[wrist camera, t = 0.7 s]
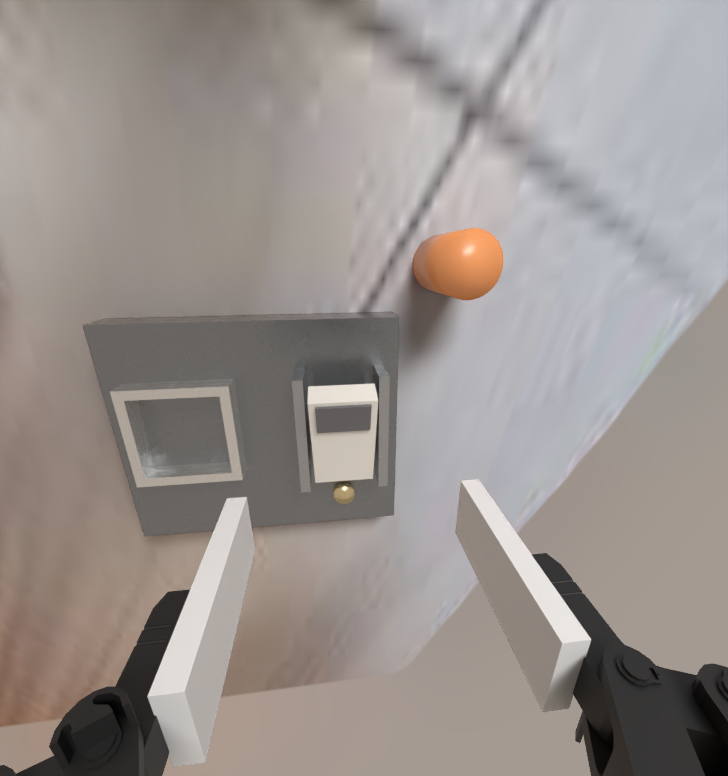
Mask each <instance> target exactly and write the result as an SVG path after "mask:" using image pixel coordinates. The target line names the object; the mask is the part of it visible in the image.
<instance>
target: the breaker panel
mask: <svg viewBox="0 0 728 776" xmlns="http://www.w3.org/2000/svg"><path fill="white" fill-rule="evenodd" d="M83 329H84V332H85V335H86V339H87V342H88V346H89V349H90V353H91V356H92V359H93V363H94V366H95V370H96V373H97V376H98V380H99V383H100V387H101V390H102V393H103V397H104V400H105V404H106V407H107V411H108V414H109V417H110V421H111V424H112V428H113V431H114V434H115V438H116V441H117V445H118V448H119V452H120V455H121V458H122V462H123V465H124V469H125V472H126V475H127V479H128V482H129V486H130V489H131V492H132V496H133V499H134V503H135V506H136V510H137V513H138V516H139V520H140V523H141V527H142V530H143V533H144V536H153V535H165V534H177V533H189V532H201V531H213V530H214V529H215V527H216V524H217V522H218V519H219V517H220V514H221V512H222V509H223V507H224V504H225V502H226V499H227V498H238V497H247V501H248V507H249V514H250V520H251V527H260V526H272V525H284V524H296V523H308V522H319V521H331V520H343V519H355V518H367V517H379V516H391V515H394V489H395V453H396V417H397V381H398V345H399V316H397V315H396V314H395V313H393V312H365V313H324V314H282V315H241V316H199V317H158V318H116V319H103V320H100V321H96V322H92V323H89V324H85V325H83ZM353 384H375V388H376V392H377V397H378V412H377V426H376V441H375V455H374V470H373V479H362V480H348V481H334V482H321V483H315V474H314V464H313V454H312V443H311V433H310V423H309V413H308V386H331V385H353Z"/></svg>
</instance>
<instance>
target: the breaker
mask: <svg viewBox="0 0 728 776" xmlns="http://www.w3.org/2000/svg"><path fill="white" fill-rule="evenodd" d="M377 412H378V397H377V392H376V388H375V384H353V385H331V386H308V413H309V423H310V433H311V443H312V454H313V464H314V474H315V483H321V482H334V481H348V480H362V479H373V470H374V455H375V441H376V426H377Z"/></svg>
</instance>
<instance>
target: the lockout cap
mask: <svg viewBox="0 0 728 776" xmlns="http://www.w3.org/2000/svg"><path fill="white" fill-rule="evenodd" d="M502 268H503V252H502V249H501V246H500V244H499V242H498V241H497V239H496V238H495V237H494V236H493V235H492V234H491V233H489V232H487V231H485V230H483V229H477V228H471V229H465V230H461V231H456V232H451V233H446V234H441V235H436V236H433V237H430V238H428V239H426V240H425V241H424V242H423V243H422V244H421V245H420V246H419V247H418V249H417V251H416V253H415V255H414V259H413V272H414V276H415V278H416V280H417V281H418V283H419V284H420V285H421V286H422V287H424V288H425V289H427V290H430V291H434V292H437V293H440V294H444V295H447V296H450V297H454V298H457V299H461V300H473V299H477V298H479V297H481V296H483V295H485V294H486V293H488V292H489V291H490V290H491V289H492V288H493V287H494V286H495V284H496V283H497V281H498V279H499V277H500V275H501V272H502Z"/></svg>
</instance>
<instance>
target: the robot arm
mask: <svg viewBox="0 0 728 776" xmlns="http://www.w3.org/2000/svg"><path fill="white" fill-rule="evenodd" d="M456 535H457V537H458V539H459V541H460V543H461V545H462V547H463V549H464V551H465V553H466V555H467V557H468V559H469V561H470V563H471V565H472V568H473V570H474V572H475V574H476V576H477V578H478V580H479V582H480V584H481V586H482V588H483V590H484V592H485V594H486V596H487V598H488V601H489V603H490V605H491V607H492V609H493V611H494V613H495V615H496V617H497V619H498V621H499V623H500V625H501V627H502V629H503V631H504V633H505V635H506V638H507V640H508V642H509V644H510V646H511V648H512V650H513V652H514V654H515V656H516V658H517V660H518V662H519V664H520V667H521V669H522V671H523V673H524V675H525V677H526V679H527V681H528V683H529V685H530V687H531V689H532V691H533V693H534V695H535V697H536V700H537V702H538V703H539V706H540V708H541V710H542V712H547V711H554V710H561V709H567V708H569V706H570V704H571V700H572V697H573V694H574V696H575V698H576V699H577V701H578V703H579V705H580V707H581V708H582V710H583V712H582V715H581V717H580V720H579V723H578V726H577V729H576V738H575V739H576V741H577V742H579V743H580V742H581V739H582V736H583V735H584V740H585V745H586V750H587V756H588V761H589V767H590V772H591V776H728V668H727V667H724V666H720V665H717V664H707V665H704V666H703V667H702V668H701V669H700V670H699V672H698V674H697V675H693V674H688V673H683V672H679V671H675V670H670V669H665V668H662V667H659V666H656V665H655V664H654V663H653V662H652V661H651V660H650V659H649V658H647V657H646V656H645V655H643V654H642V653H640V652H639V651H637V650H635V649H633V648H630V647H628V646H626V645H624V644H623V643H622V642H621V641H620V639H619V638H618V637H617V636H616V634H615V633H614V632H613V631H612V629H611V628H610V627H609V625H608V624H607V623H606V622H605V620H604V619H603V618H602V617H601V615H600V614H599V613H598V611H597V610H596V609H595V608H594V606H593V605H592V604H591V602H590V601H589V600H588V599H587V597H586V596H585V595H584V594H582V591H581V590H580V588H579V587H578V586H577V584H576V583H575V582H573V580H572V578H571V577H570V575H569V574H568V573H567V572H566V570H565V569H564V568H563V566H562V565H561V564H559V563H558V562H557V561H556V560H554V559H553V558H552V557H550V556H549V555H548V554H546V553H544V554H533V555H531V553H530V552H529V551H528V549H527V548H526V546H525V545H524V543H523V542H522V541H521V539H520V538H519V537H518V535H517V533H516V532H515V531H514V529H513V528H512V526H511V525H510V524H509V522H508V521H507V519H506V518H505V516H504V515H503V514H502V512H501V511H500V509H499V508H498V507H497V505H496V504H495V502H494V501H493V499H492V498H491V497H490V495H489V494H488V492H487V491H486V490H485V488H484V487H483V485H482V484H481V482H480V481H479V480H478V479H477V480H464V481H461V485H460V494H459V504H458V513H457V522H456ZM254 553H255V547H254V540H253V534H252V527H251V520H250V514H249V507H248V501H247V497H238V498H227V499H226V502H225V504H224V507H223V509H222V512H221V514H220V517H219V519H218V522H217V524H216V527H215V529H214V532H213V534H212V537H211V539H210V542H209V544H208V547H207V549H206V552H205V554H204V557H203V559H202V562H201V564H200V567H199V569H198V572H197V574H196V577H195V579H194V582H193V584H192V587H191V589H190V590H182V591H172V592H168V593H167V594H166V595H165V596H164V597H163V598H162V599H161V600H160V601H159V603H158V604H157V605H156V606H155V607H154V608H153V610H152V612H151V614H150V616H149V618H148V620H147V622H146V625H145V627H144V630H143V631H142V633H141V635H140V637H139V639H138V641H137V645H136V646H135V647H134V649H133V651H132V653H131V655H130V657H129V660H128V662H127V664H126V666H125V668H124V670H123V672H122V674H121V676H120V678H119V680H118V682H117V684H116V686H115V687H105V688H102V689H100V690H97V691H94V692H92V693H91V694H89V695H88V696H86V697H85V698H83V699H82V700H80V701H79V702H78V703H77V704H76V705H75V706H74V707H73V708H72V709H71V710H70V711H69V712H68V713H67V714H66V715H65V716H64V718H63V719H62V721H61V722H60V724H59V725H58V727H57V728H56V730H55V731H54V735H53V737H52V740H51V743H50V746H49V747H50V749H51V751H52V752H53V754H54V756H53V757H51V758H49V759H46V760H44V761H42V762H40V763H38V764H36V765H34V766H32V767H30V768H28V769H25V770H23V771H21V772H19V773H17V774H15V772H14V771H13V769H11V768H9V767H7V766H5V765H2V766H0V776H162V774H163V771H164V768H165V765H166V762H167V758H168V755H169V758H170V760H171V763H172V766H173V767H178V766H185V765H192V764H198V763H204V762H206V759H207V755H208V750H209V746H210V742H211V737H212V733H213V729H214V724H215V720H216V716H217V712H218V708H219V703H220V699H221V695H222V690H223V686H224V682H225V677H226V673H227V669H228V665H229V660H230V656H231V652H232V647H233V643H234V639H235V635H236V630H237V626H238V622H239V617H240V613H241V609H242V605H243V600H244V596H245V592H246V587H247V583H248V579H249V574H250V570H251V566H252V562H253V557H254Z"/></svg>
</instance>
